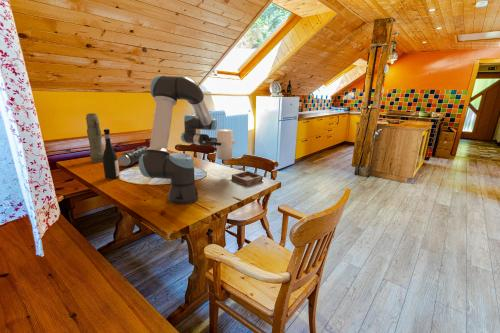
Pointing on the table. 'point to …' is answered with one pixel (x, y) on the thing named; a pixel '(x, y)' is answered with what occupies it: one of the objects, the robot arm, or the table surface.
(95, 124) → the grey stone pillar
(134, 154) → the muzzle brake
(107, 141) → the wine bottle
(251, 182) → the coaster tray
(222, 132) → the ceramic canister
